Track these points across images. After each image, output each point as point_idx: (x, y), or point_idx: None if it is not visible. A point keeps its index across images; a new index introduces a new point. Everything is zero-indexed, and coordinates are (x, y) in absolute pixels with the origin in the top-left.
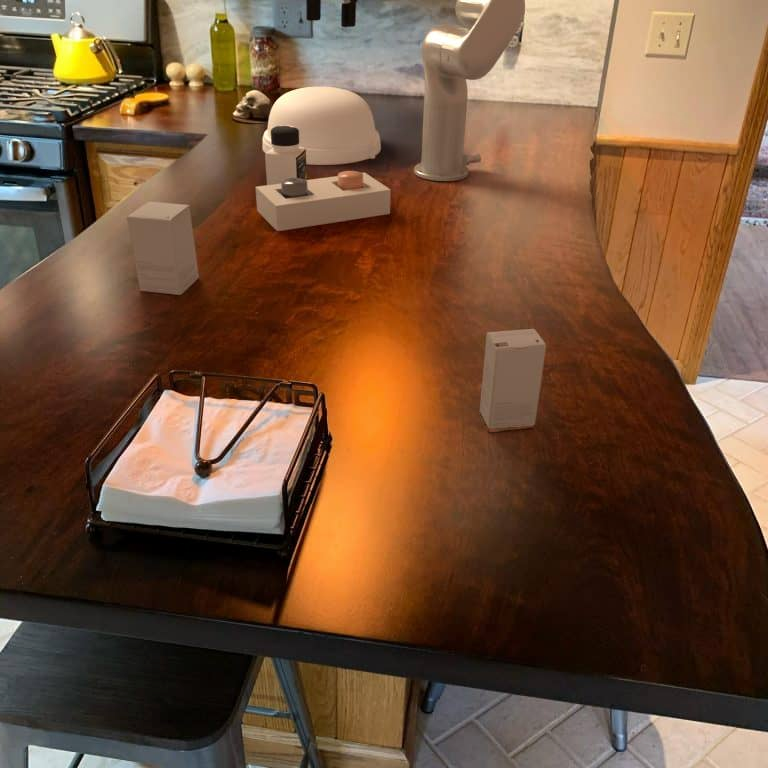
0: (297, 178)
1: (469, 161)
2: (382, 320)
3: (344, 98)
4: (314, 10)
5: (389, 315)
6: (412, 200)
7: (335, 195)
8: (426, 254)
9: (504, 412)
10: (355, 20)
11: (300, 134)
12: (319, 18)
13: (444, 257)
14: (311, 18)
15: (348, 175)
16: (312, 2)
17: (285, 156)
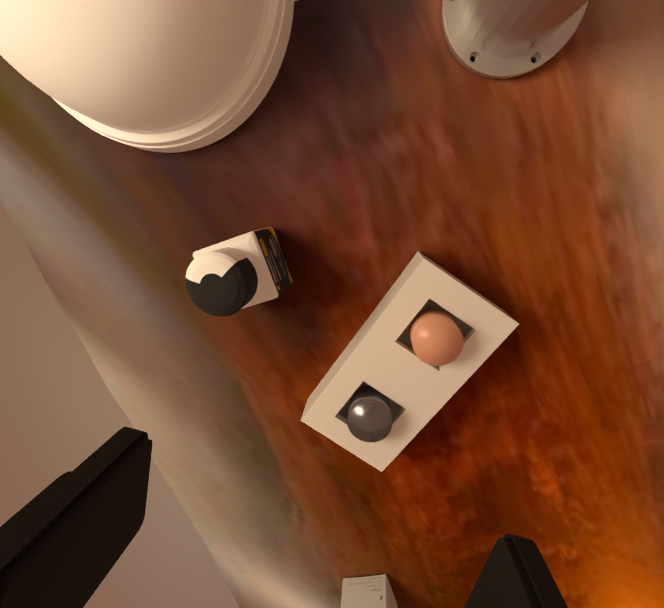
0: (363, 406)
1: None
2: (622, 583)
3: None
4: (101, 545)
5: (627, 573)
6: (514, 223)
7: (439, 397)
8: (620, 424)
9: None
10: (549, 574)
11: (157, 119)
12: (147, 451)
13: (651, 422)
14: (137, 516)
15: (436, 349)
16: None
17: (257, 303)
